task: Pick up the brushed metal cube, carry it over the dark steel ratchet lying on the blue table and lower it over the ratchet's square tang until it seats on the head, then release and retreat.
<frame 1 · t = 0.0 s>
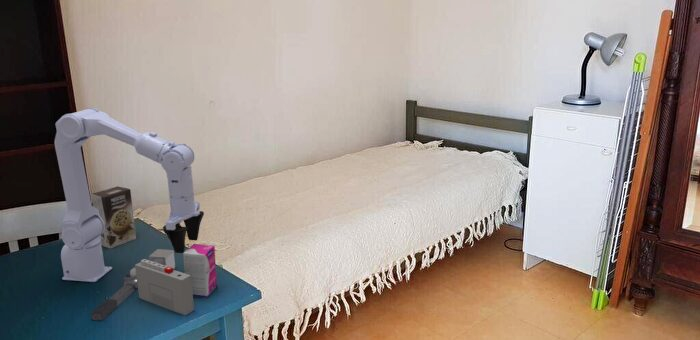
hand: (186, 245, 137), 10 cm above the table, tool pointing down, fingers open, 7 cm apart
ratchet: (137, 284, 139), on the table
brushed metal cube: (163, 270, 146), on the table
cassette player: (166, 305, 129), on the table
cookie box: (117, 242, 165), on the table
supplement box: (202, 292, 135), on the table
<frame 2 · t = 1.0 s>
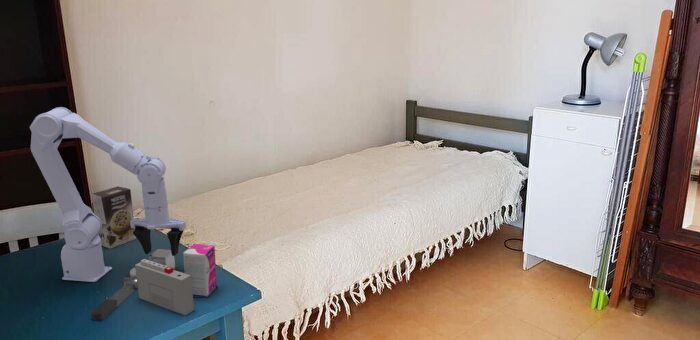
hand: (161, 253, 144), 5 cm above the table, tool pointing down, fingers open, 7 cm apart
nothing on the table moved.
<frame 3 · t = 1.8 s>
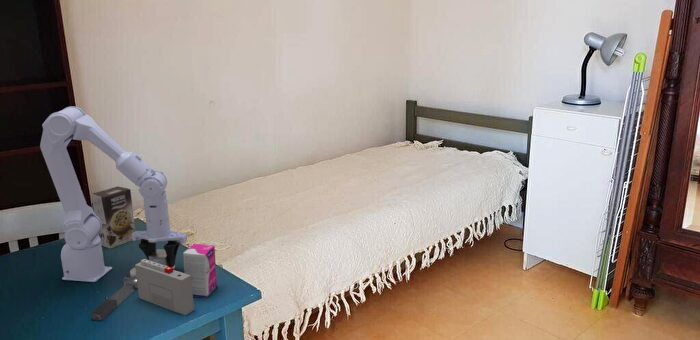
hand: (162, 265, 145), 1 cm above the table, tool pointing down, fingers closed on brushed metal cube, 5 cm apart
brushed metal cube: (163, 270, 146), on the table, touching gripper
everything else where it was.
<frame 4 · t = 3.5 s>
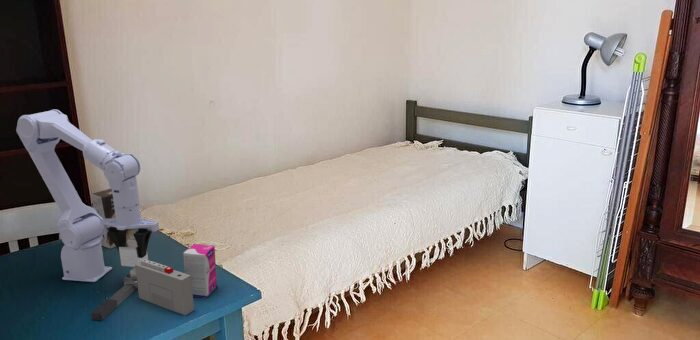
hand: (133, 255, 137), 8 cm above the table, tool pointing down, fingers closed on brushed metal cube, 5 cm apart
brushed metal cube: (134, 262, 137), point 6 cm above the table, touching gripper
everything else where it was.
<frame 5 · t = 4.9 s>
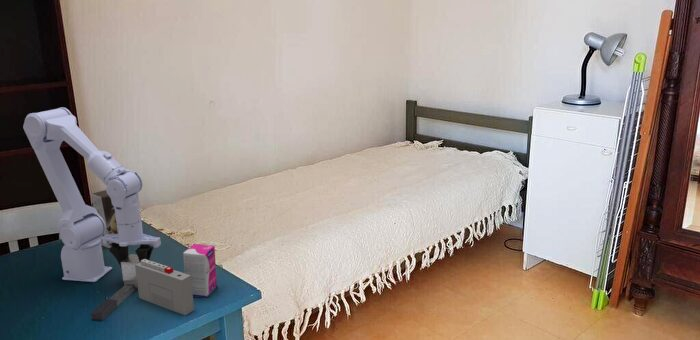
hand: (135, 270, 138), 4 cm above the table, tool pointing down, fingers closed on brushed metal cube, 5 cm apart
brushed metal cube: (136, 276, 138), point 2 cm above the table, touching gripper
everything else where it was.
when the fingers open (4 cm above the table, at t = 5.4 s): brushed metal cube stays where it is, resting on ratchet.
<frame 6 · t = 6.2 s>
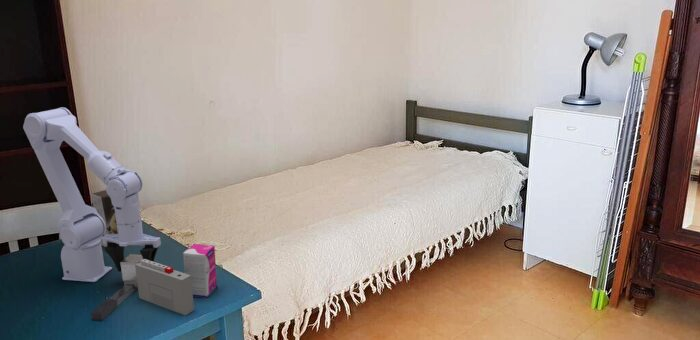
hand: (135, 270, 138), 4 cm above the table, tool pointing down, fingers open, 7 cm apart
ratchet: (137, 284, 139), on the table, touching brushed metal cube
brushed metal cube: (136, 276, 138), point 2 cm above the table, touching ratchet
everything else where it was.
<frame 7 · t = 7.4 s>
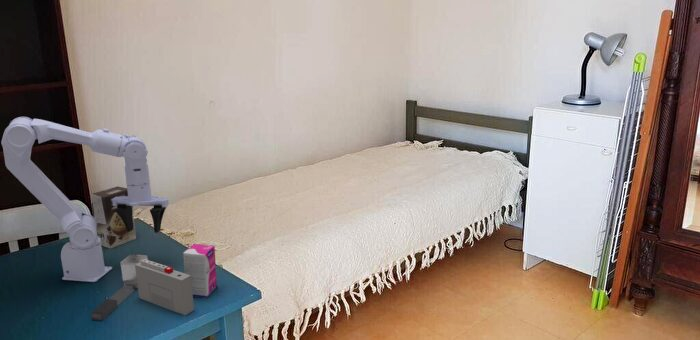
hand: (144, 230, 147), 10 cm above the table, tool pointing down, fingers open, 7 cm apart
nothing on the table moved.
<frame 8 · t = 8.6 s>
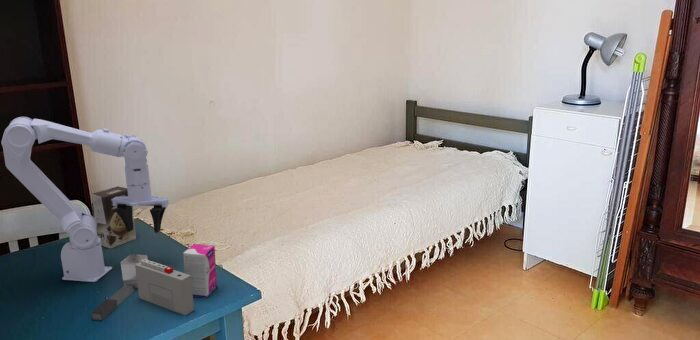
hand: (144, 230, 147), 10 cm above the table, tool pointing down, fingers open, 7 cm apart
nothing on the table moved.
at the end: brushed metal cube 0.2 cm off-centre on the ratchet, point 2.0 cm above the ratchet's base; brushed metal cube tilted 0°; the gripper is holding nothing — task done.
